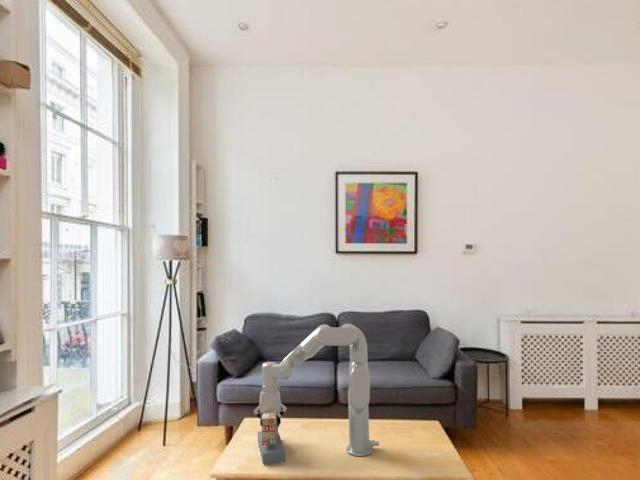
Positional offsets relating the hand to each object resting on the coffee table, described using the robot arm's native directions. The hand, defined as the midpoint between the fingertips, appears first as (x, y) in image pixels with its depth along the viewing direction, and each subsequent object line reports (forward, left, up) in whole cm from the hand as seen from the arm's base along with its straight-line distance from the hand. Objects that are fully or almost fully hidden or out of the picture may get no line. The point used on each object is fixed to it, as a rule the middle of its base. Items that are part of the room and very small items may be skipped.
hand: (270, 425), depth 206 cm
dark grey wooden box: (0, 0, -12) cm, 12 cm away
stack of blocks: (0, 0, -5) cm, 5 cm away
